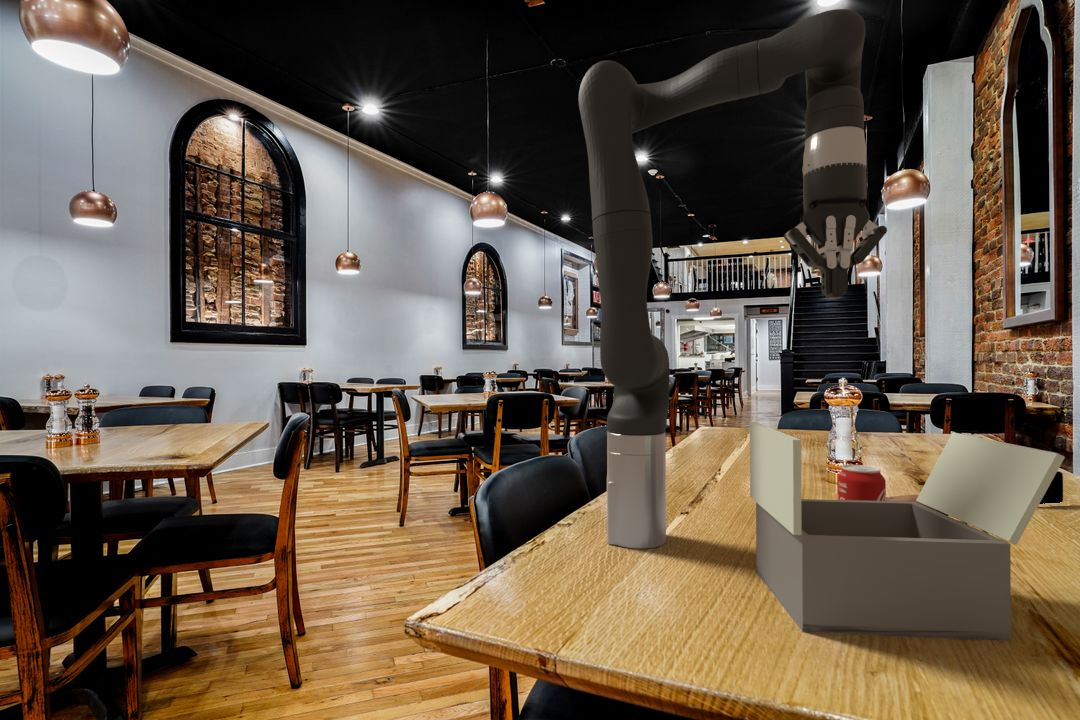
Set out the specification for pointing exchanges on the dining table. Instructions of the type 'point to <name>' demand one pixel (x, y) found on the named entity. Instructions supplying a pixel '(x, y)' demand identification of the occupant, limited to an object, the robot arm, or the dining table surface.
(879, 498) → the beverage can
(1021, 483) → the flap
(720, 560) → the dining table surface
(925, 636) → the carton
